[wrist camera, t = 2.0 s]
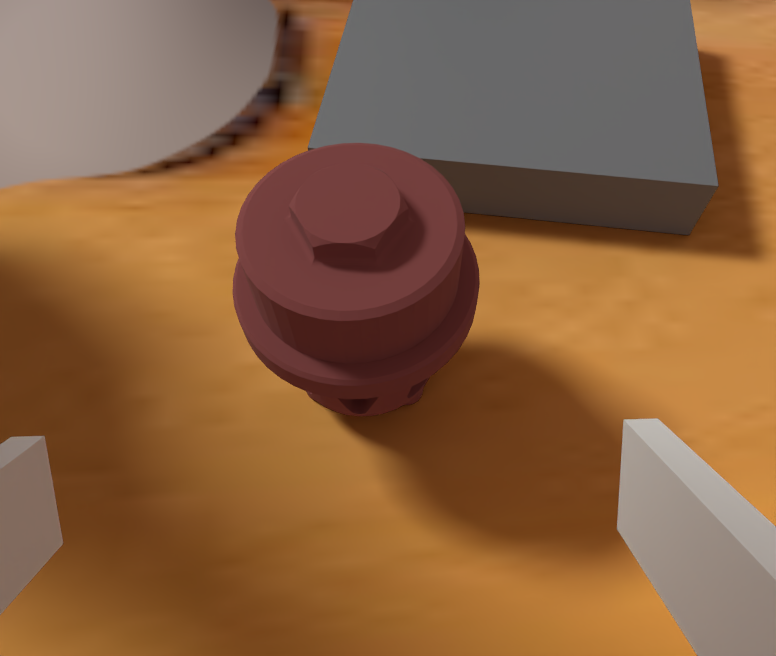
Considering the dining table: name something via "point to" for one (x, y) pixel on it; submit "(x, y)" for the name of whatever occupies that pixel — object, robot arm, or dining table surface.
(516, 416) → the dining table surface
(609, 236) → the dining table surface
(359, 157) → the mechanical component
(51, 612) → the dining table surface
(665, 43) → the plate
